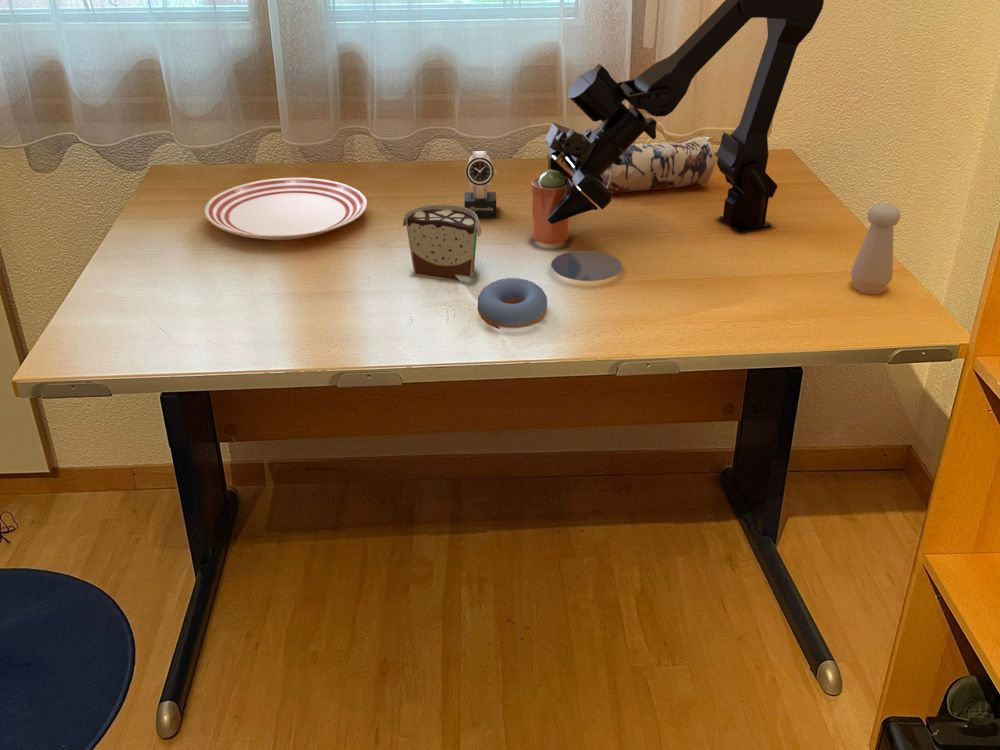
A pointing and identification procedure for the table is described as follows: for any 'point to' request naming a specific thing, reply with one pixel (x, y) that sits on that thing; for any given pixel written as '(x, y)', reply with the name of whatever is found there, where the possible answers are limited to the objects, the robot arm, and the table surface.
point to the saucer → (586, 265)
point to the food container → (442, 240)
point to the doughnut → (512, 303)
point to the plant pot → (548, 207)
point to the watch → (480, 185)
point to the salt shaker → (876, 251)
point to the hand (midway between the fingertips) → (542, 211)
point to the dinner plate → (285, 208)
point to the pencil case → (662, 166)
